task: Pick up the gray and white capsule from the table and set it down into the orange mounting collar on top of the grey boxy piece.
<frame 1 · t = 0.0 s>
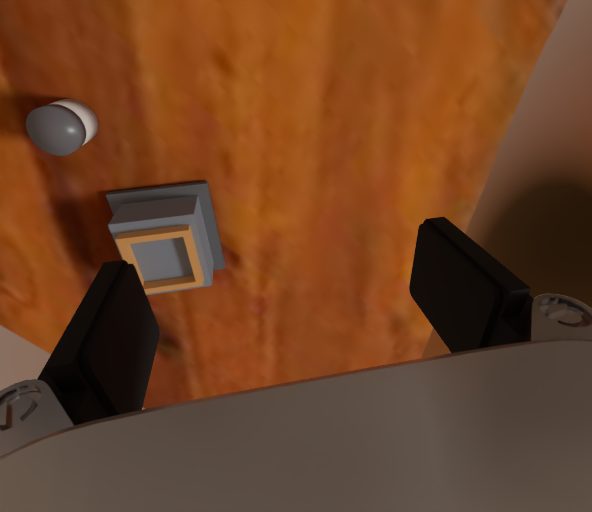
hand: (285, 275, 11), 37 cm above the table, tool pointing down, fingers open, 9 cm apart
gray and white capsule: (75, 120, 40), on the table
grey boxy piece: (171, 231, 49), on the table
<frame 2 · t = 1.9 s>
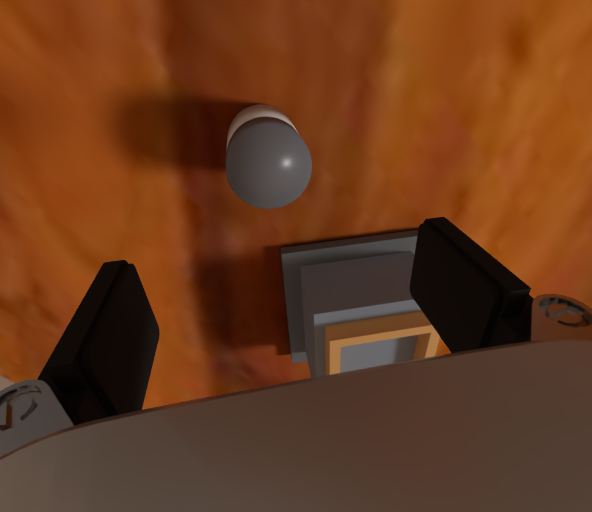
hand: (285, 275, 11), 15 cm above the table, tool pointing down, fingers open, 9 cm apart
gray and white capsule: (262, 141, 24), on the table
grey boxy piece: (351, 298, 33), on the table
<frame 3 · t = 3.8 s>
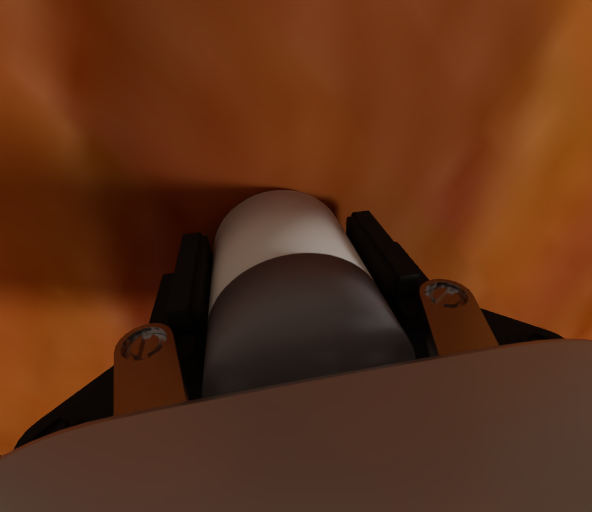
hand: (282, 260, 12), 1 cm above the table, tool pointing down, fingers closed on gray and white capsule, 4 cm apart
gray and white capsule: (280, 251, 12), on the table, touching gripper
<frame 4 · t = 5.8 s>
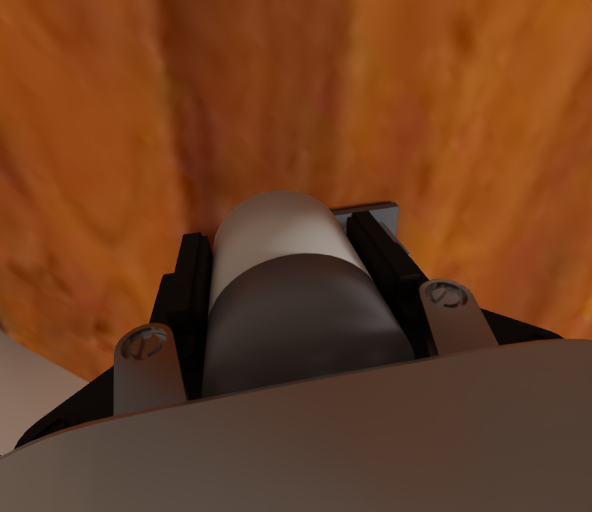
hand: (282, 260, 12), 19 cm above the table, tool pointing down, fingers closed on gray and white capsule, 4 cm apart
gray and white capsule: (279, 251, 13), point 19 cm above the table, touching gripper
grey boxy piece: (332, 269, 37), on the table
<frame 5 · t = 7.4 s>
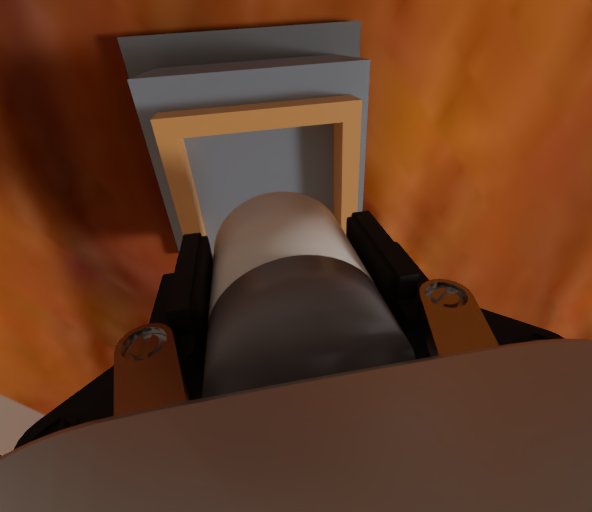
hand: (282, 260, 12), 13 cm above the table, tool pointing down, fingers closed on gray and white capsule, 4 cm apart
gray and white capsule: (280, 252, 13), point 12 cm above the table, touching gripper
grey boxy piece: (258, 154, 23), on the table
when the fingers open (10 cm above the table, at t = 8.2 s): gray and white capsule drops 2 cm, resting on grey boxy piece.
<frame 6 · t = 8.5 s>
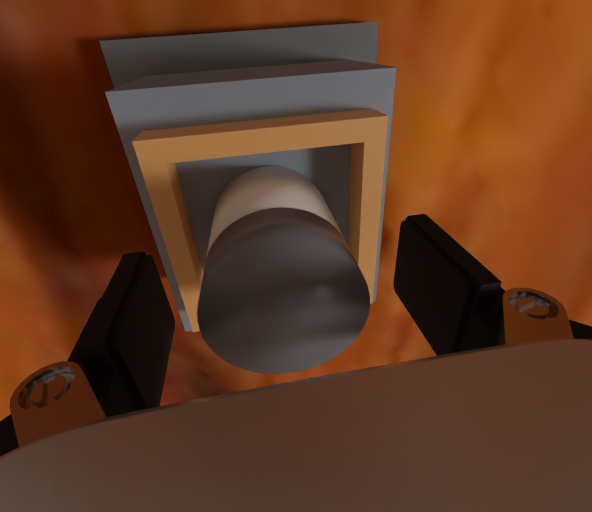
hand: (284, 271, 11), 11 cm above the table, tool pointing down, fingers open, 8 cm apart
gray and white capsule: (271, 221, 14), point 7 cm above the table, touching grey boxy piece
grey boxy piece: (260, 170, 20), on the table
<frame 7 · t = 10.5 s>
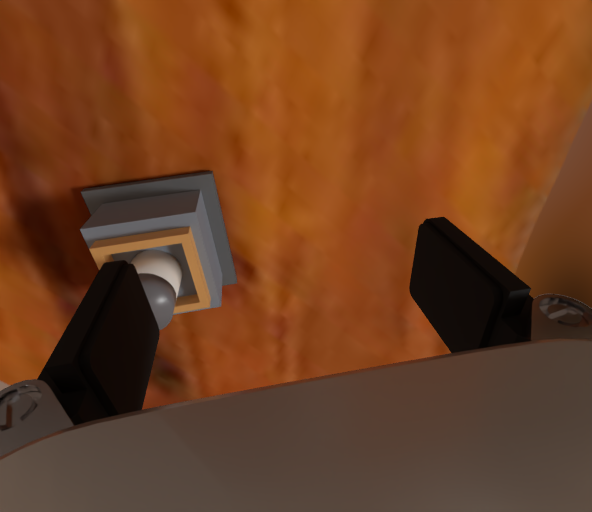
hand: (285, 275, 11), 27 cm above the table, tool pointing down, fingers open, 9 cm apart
gray and white capsule: (156, 271, 33), point 7 cm above the table, touching grey boxy piece
grey boxy piece: (168, 238, 39), on the table
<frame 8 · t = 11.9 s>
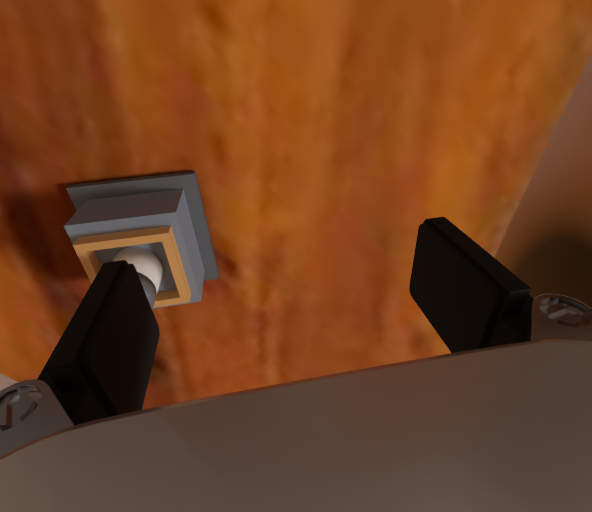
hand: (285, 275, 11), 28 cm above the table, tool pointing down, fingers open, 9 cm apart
gray and white capsule: (138, 266, 34), point 7 cm above the table, touching grey boxy piece
grey boxy piece: (152, 234, 40), on the table
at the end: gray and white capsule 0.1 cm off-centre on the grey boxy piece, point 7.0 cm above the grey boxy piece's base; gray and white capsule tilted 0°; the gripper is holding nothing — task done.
